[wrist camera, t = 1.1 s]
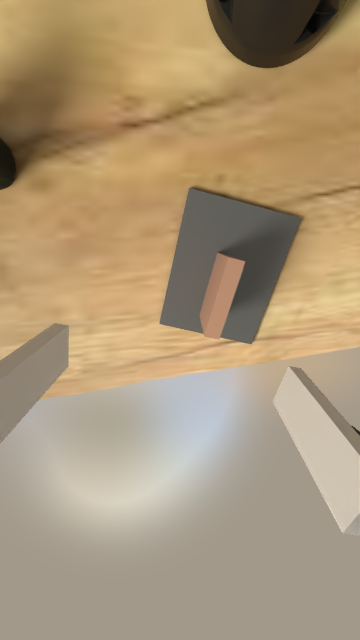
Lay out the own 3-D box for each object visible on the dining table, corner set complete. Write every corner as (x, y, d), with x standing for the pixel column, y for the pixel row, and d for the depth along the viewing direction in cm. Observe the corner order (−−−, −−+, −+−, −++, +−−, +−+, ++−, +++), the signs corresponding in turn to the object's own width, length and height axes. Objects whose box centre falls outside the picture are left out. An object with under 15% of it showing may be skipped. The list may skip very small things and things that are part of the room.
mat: (189, 188, 29) (189, 187, 29) (299, 218, 30) (301, 218, 30) (159, 322, 36) (159, 323, 36) (250, 342, 37) (251, 344, 37)
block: (217, 252, 32) (228, 257, 24) (232, 256, 32) (247, 262, 24) (199, 315, 35) (204, 336, 28) (213, 318, 35) (221, 340, 28)
